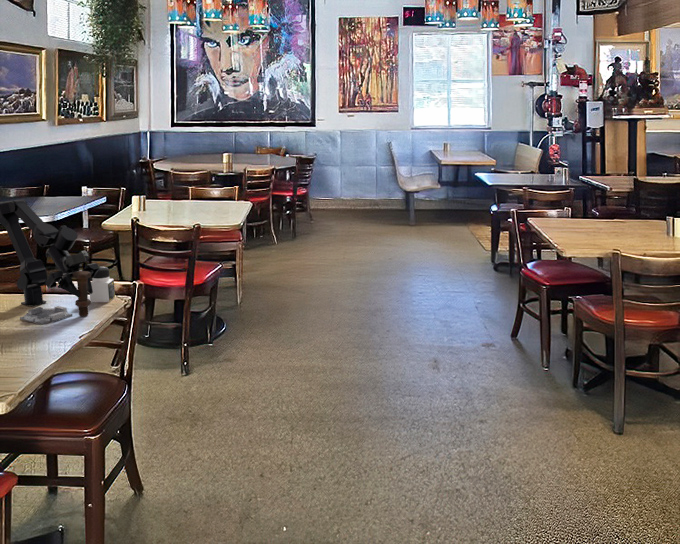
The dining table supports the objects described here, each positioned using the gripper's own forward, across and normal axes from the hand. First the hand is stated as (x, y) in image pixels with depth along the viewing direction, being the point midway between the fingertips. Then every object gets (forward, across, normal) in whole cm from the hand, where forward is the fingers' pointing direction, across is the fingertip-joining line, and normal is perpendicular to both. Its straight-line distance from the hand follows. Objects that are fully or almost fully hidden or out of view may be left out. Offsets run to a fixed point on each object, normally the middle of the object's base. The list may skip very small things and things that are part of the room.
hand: (85, 294), depth 271 cm
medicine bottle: (-4, +17, +15) cm, 23 cm away
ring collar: (-2, -8, +13) cm, 16 cm away
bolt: (+4, 0, +7) cm, 8 cm away
